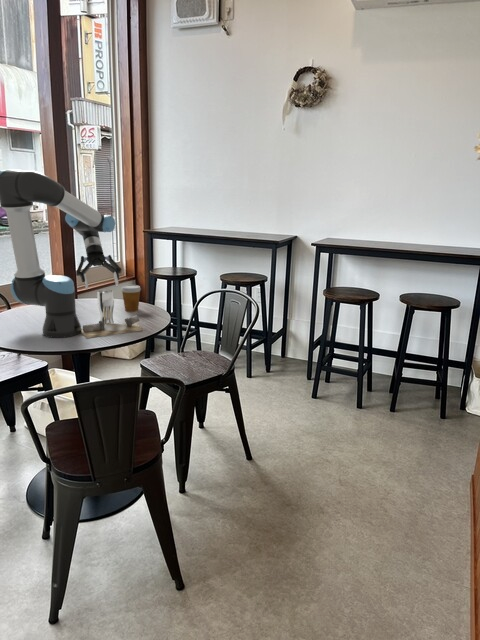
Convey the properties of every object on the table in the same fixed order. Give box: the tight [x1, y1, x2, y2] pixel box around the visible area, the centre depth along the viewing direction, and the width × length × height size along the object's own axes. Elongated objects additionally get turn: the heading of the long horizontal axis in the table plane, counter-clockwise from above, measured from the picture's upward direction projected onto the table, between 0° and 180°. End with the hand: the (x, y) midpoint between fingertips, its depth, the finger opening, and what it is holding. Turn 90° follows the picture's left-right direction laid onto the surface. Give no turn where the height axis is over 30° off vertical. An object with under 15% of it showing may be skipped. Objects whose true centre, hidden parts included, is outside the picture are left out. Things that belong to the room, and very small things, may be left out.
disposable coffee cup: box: [120, 284, 142, 313], centre depth 236 cm, size 10×10×12 cm
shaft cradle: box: [80, 314, 144, 339], centre depth 204 cm, size 24×10×6 cm, turn 122°
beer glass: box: [97, 289, 115, 326], centre depth 212 cm, size 7×7×15 cm
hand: (102, 286), depth 218 cm, fingers open, 13 cm apart
